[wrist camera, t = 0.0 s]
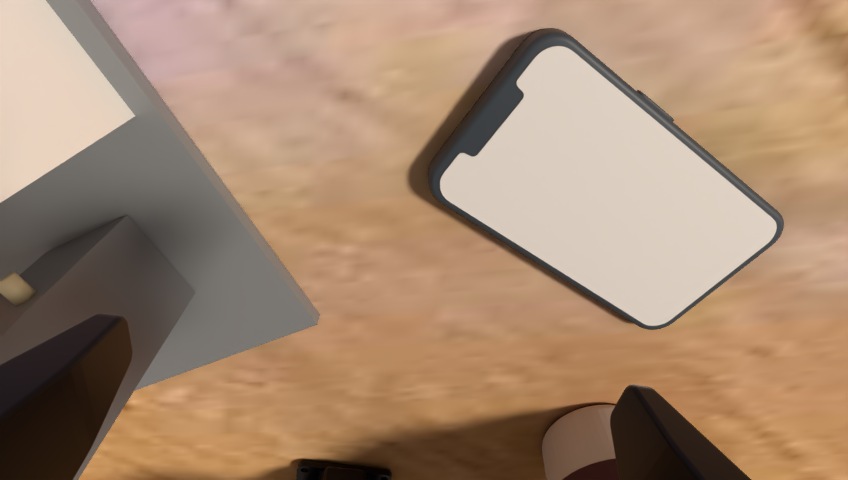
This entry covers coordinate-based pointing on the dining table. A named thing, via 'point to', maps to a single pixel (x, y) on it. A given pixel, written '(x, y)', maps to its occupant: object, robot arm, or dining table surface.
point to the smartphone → (599, 185)
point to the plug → (96, 299)
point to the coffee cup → (581, 446)
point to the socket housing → (127, 182)
